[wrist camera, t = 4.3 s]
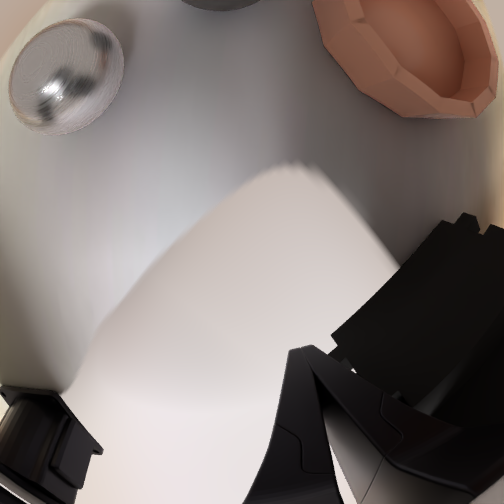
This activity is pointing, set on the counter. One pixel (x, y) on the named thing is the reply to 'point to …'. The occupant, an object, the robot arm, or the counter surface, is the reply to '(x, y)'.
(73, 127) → the steel ball
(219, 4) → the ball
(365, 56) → the dish
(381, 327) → the toy
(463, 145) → the counter surface
